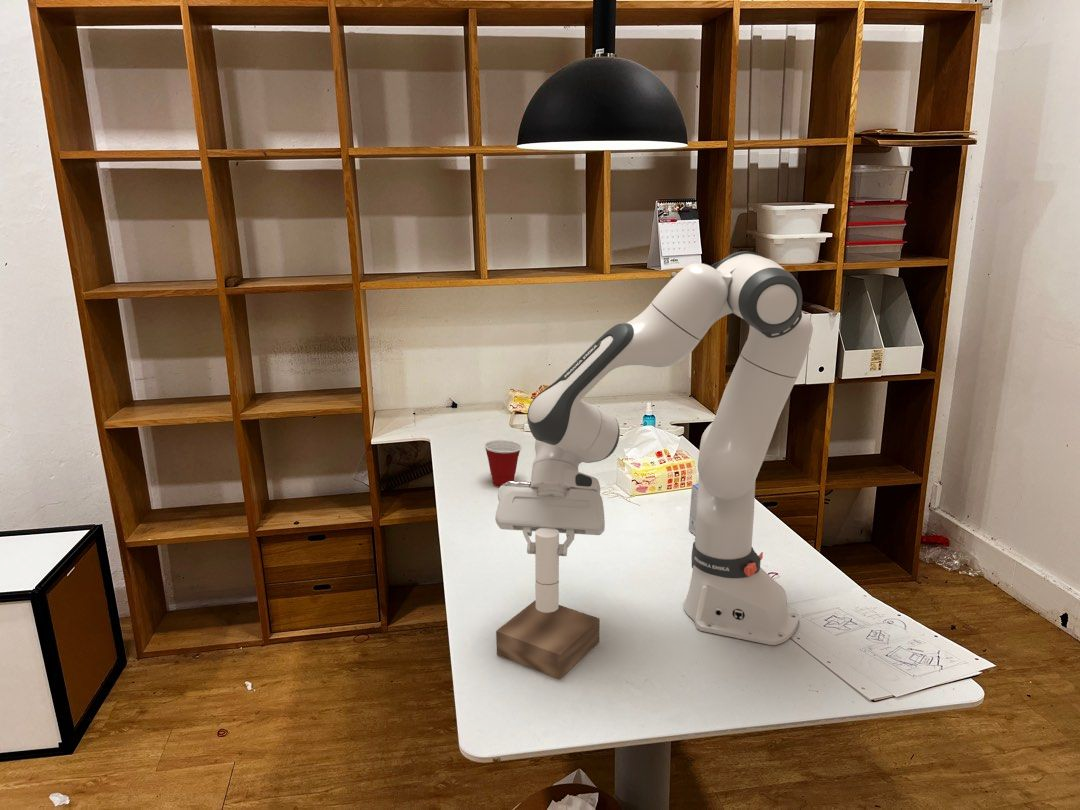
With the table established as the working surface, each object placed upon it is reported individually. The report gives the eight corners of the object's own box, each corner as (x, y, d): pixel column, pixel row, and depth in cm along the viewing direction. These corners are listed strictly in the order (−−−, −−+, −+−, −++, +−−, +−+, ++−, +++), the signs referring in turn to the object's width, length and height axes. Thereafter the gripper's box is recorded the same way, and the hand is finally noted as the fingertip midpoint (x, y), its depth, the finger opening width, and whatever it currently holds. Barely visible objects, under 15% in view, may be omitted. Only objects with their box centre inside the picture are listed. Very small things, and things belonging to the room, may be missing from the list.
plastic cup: (528, 487, 226) (527, 447, 223) (491, 493, 223) (490, 453, 219) (516, 474, 236) (515, 436, 233) (480, 479, 233) (479, 440, 229)
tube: (548, 615, 146) (548, 539, 142) (530, 607, 149) (530, 532, 145) (563, 606, 149) (563, 531, 145) (545, 598, 152) (545, 525, 148)
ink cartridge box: (727, 544, 192) (730, 487, 188) (706, 547, 190) (709, 490, 186) (708, 526, 201) (711, 472, 197) (687, 529, 200) (690, 475, 195)
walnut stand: (599, 641, 154) (599, 618, 152) (560, 679, 142) (559, 655, 141) (538, 619, 161) (538, 597, 160) (496, 654, 150) (496, 631, 148)
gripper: (497, 474, 151) (487, 544, 144) (606, 479, 148) (601, 552, 141) (502, 486, 156) (493, 555, 150) (607, 492, 153) (602, 563, 147)
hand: (546, 554), depth 145 cm, fingers closed on tube, 4 cm apart
